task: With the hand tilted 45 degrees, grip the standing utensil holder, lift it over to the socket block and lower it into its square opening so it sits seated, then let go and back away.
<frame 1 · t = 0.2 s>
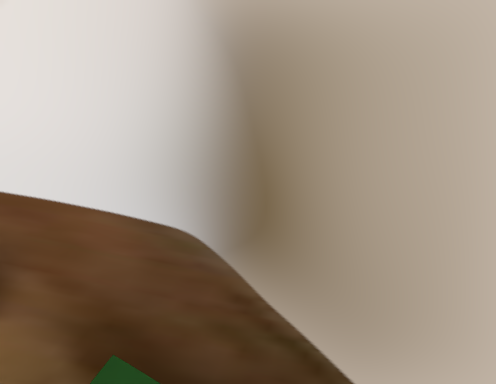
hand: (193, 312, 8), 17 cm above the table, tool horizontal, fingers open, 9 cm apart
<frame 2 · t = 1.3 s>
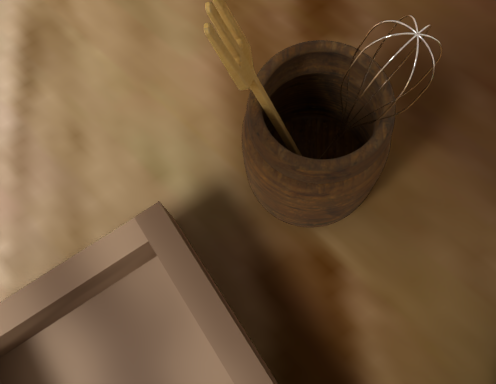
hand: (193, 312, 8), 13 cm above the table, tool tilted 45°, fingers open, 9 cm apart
utensil holder: (305, 172, 23), on the table
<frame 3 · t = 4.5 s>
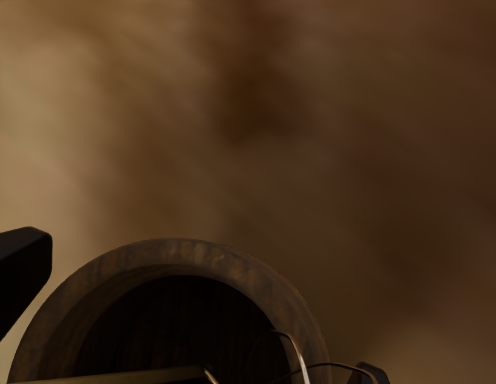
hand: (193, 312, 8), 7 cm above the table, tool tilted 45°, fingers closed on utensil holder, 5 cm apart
utensil holder: (212, 368, 14), on the table, touching gripper
when the fingers open (8 cm above the table, at t = 8.7 s): utensil holder stays where it is, resting on socket block.
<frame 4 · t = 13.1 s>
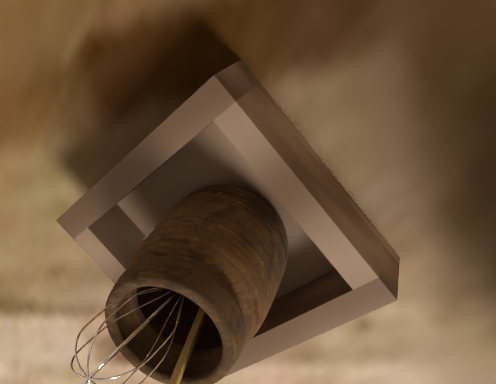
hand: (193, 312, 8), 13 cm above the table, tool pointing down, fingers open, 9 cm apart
socket block: (236, 218, 23), on the table, touching utensil holder
utensil holder: (233, 236, 23), resting on socket block
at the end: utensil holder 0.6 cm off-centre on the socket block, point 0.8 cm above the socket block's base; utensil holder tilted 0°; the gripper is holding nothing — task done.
